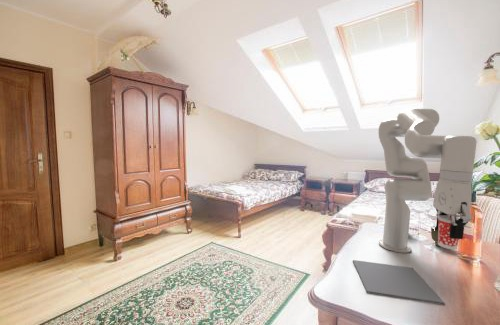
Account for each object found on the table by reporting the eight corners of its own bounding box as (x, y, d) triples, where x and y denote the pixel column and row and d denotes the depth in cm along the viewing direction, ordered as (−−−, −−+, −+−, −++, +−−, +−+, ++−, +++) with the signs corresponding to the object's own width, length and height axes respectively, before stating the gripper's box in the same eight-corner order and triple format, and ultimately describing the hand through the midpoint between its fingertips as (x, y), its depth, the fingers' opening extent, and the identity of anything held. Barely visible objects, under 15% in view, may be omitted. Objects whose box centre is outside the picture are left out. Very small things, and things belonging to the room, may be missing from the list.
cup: (443, 250, 105) (445, 232, 104) (425, 243, 112) (427, 227, 111) (453, 247, 108) (454, 231, 107) (435, 241, 115) (436, 225, 114)
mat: (352, 261, 92) (352, 259, 92) (412, 269, 87) (412, 267, 87) (366, 292, 72) (367, 290, 72) (444, 304, 68) (444, 302, 68)
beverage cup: (434, 240, 77) (439, 198, 76) (459, 245, 73) (464, 202, 72) (434, 246, 72) (439, 202, 71) (461, 252, 68) (466, 206, 67)
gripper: (425, 172, 80) (420, 223, 82) (460, 180, 63) (452, 244, 65) (450, 173, 78) (445, 225, 80) (493, 182, 62) (484, 247, 63)
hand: (448, 233), depth 72 cm, fingers closed on beverage cup, 6 cm apart
